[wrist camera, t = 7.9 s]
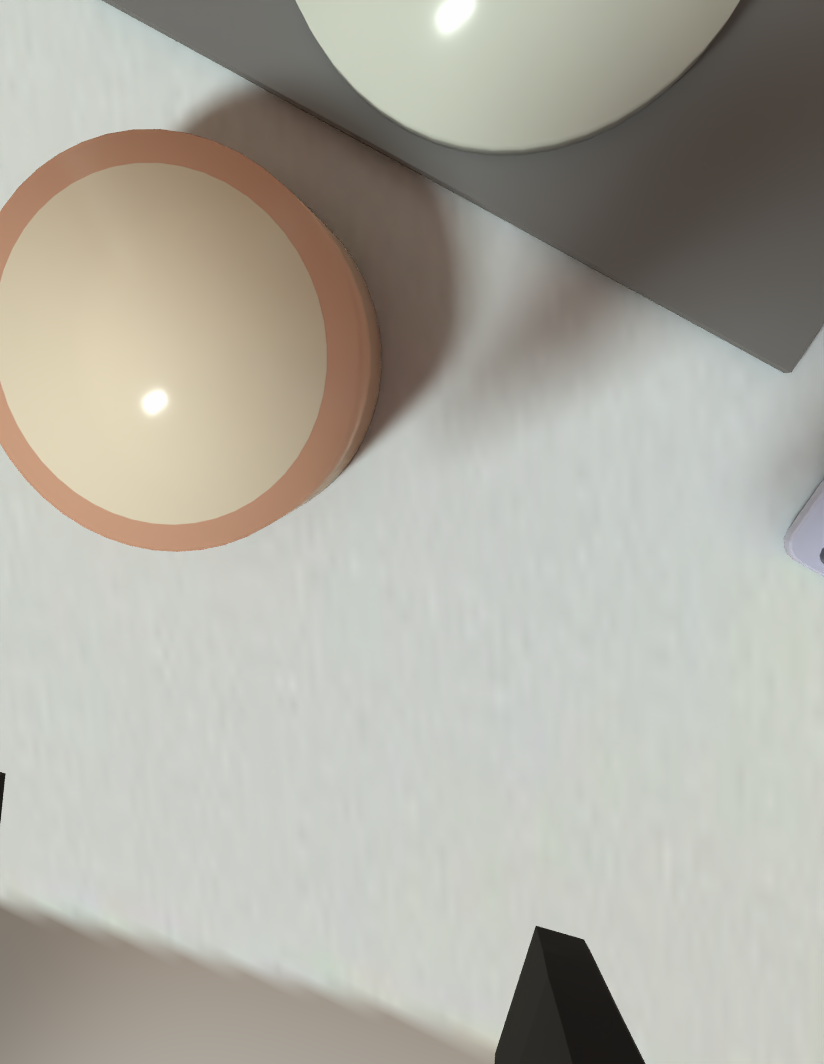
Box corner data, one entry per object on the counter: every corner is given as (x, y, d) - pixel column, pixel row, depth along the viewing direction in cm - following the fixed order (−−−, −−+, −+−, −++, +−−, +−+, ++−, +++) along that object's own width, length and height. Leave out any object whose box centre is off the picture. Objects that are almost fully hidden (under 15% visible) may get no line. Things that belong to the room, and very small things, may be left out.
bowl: (443, 281, 16) (431, 257, 13) (290, 582, 18) (249, 619, 15) (130, 110, 16) (48, 48, 13) (12, 428, 18) (-82, 435, 15)
